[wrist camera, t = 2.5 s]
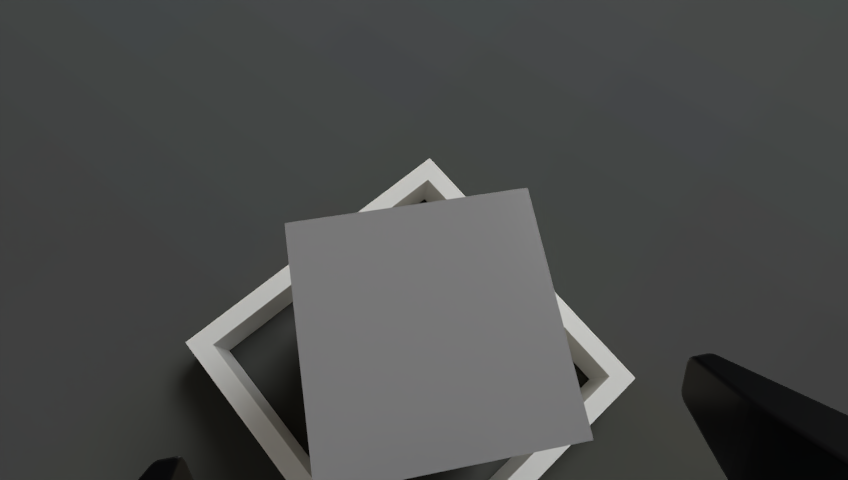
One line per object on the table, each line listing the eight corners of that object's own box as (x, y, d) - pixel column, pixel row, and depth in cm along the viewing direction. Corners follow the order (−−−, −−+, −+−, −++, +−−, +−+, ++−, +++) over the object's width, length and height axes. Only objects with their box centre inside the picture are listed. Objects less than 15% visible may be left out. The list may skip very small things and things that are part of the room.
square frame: (612, 381, 19) (635, 378, 17) (393, 604, 16) (393, 627, 14) (426, 179, 21) (429, 158, 19) (204, 348, 18) (185, 342, 16)
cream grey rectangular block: (495, 425, 18) (593, 440, 9) (351, 454, 17) (314, 497, 9) (466, 285, 19) (527, 187, 11) (331, 307, 19) (284, 223, 10)
